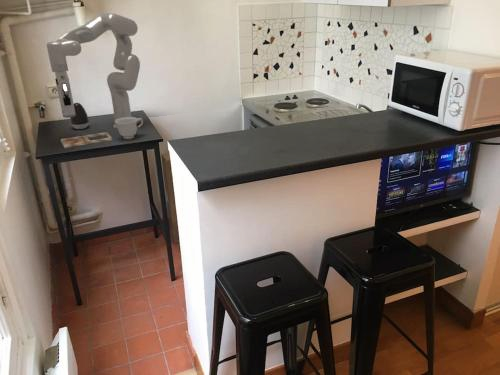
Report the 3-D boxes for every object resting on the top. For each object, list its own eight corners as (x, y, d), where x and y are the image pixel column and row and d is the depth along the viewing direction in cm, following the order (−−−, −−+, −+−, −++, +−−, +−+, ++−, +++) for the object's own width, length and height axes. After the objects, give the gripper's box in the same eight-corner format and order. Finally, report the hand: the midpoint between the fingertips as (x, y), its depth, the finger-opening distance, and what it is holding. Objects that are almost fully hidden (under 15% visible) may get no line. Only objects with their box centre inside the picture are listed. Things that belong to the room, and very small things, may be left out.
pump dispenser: (78, 125, 255) (74, 100, 249) (93, 126, 252) (89, 101, 246) (67, 130, 246) (62, 104, 240) (83, 131, 243) (78, 105, 237)
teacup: (147, 137, 230) (145, 119, 226) (120, 142, 223) (117, 124, 219) (141, 132, 240) (139, 114, 235) (115, 136, 233) (112, 119, 229)
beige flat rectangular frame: (107, 134, 237) (106, 132, 237) (112, 139, 228) (111, 137, 227) (61, 141, 227) (60, 139, 226) (64, 148, 217) (63, 145, 216)
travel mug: (62, 118, 215) (54, 78, 206) (63, 115, 220) (55, 76, 212) (75, 117, 216) (67, 77, 208) (76, 114, 222) (68, 75, 213)
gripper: (70, 69, 203) (77, 106, 210) (65, 65, 217) (72, 99, 224) (53, 71, 199) (61, 108, 207) (49, 66, 213) (56, 101, 221)
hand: (66, 103), depth 215 cm, fingers closed on travel mug, 6 cm apart
